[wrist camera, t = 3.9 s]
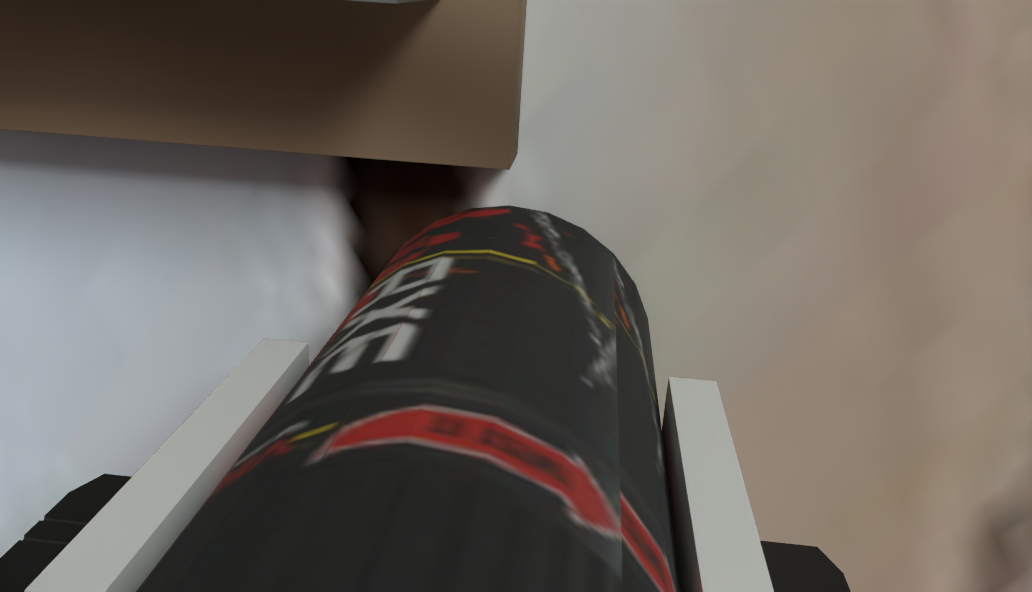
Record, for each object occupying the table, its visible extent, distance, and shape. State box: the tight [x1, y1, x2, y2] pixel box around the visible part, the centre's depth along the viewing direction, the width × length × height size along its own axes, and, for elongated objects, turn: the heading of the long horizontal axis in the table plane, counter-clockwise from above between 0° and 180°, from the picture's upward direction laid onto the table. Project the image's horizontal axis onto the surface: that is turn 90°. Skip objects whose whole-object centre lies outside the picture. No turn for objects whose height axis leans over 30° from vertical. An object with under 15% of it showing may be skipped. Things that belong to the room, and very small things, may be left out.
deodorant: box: [136, 206, 681, 592], centre depth 12 cm, size 6×6×15 cm
